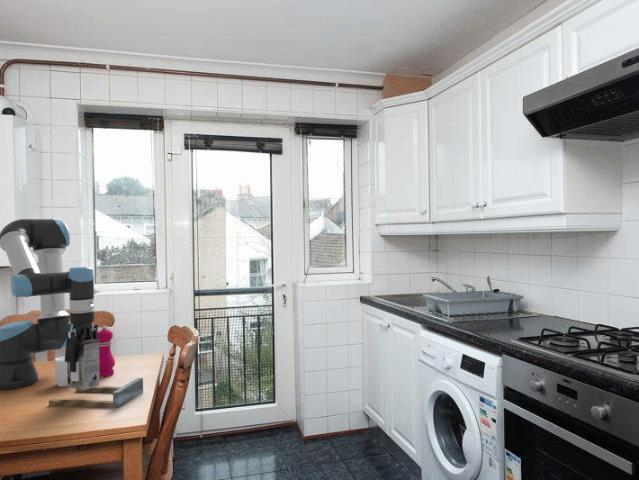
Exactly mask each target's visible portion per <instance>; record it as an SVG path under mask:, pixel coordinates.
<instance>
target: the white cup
mask: <svg viewBox="0 0 639 480" xmlns="http://www.w3.org/2000/svg"><path fill="white" fill-rule="evenodd" d="M54 365H55V366H54V368H55V378H56V386H57V387H61V388H63V387H64V388H65V387H68V375H67V362H65V355H64V356H63V355H62V356H59V357H56V358H54Z"/></svg>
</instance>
